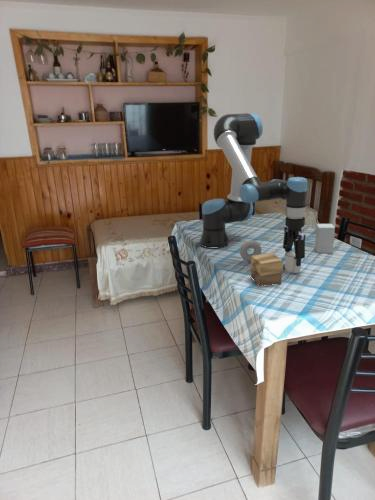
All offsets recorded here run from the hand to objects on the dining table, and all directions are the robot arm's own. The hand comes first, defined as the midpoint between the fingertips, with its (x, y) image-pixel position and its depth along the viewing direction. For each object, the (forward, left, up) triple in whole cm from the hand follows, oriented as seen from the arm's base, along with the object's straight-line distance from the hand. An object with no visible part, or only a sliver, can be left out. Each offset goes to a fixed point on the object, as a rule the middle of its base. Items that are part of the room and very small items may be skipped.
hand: (292, 269), depth 149 cm
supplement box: (-17, +25, -1) cm, 30 cm away
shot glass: (0, 0, -1) cm, 1 cm away
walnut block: (+7, -15, -1) cm, 17 cm away
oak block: (+7, -15, +4) cm, 17 cm away
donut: (-15, -13, -1) cm, 20 cm away
